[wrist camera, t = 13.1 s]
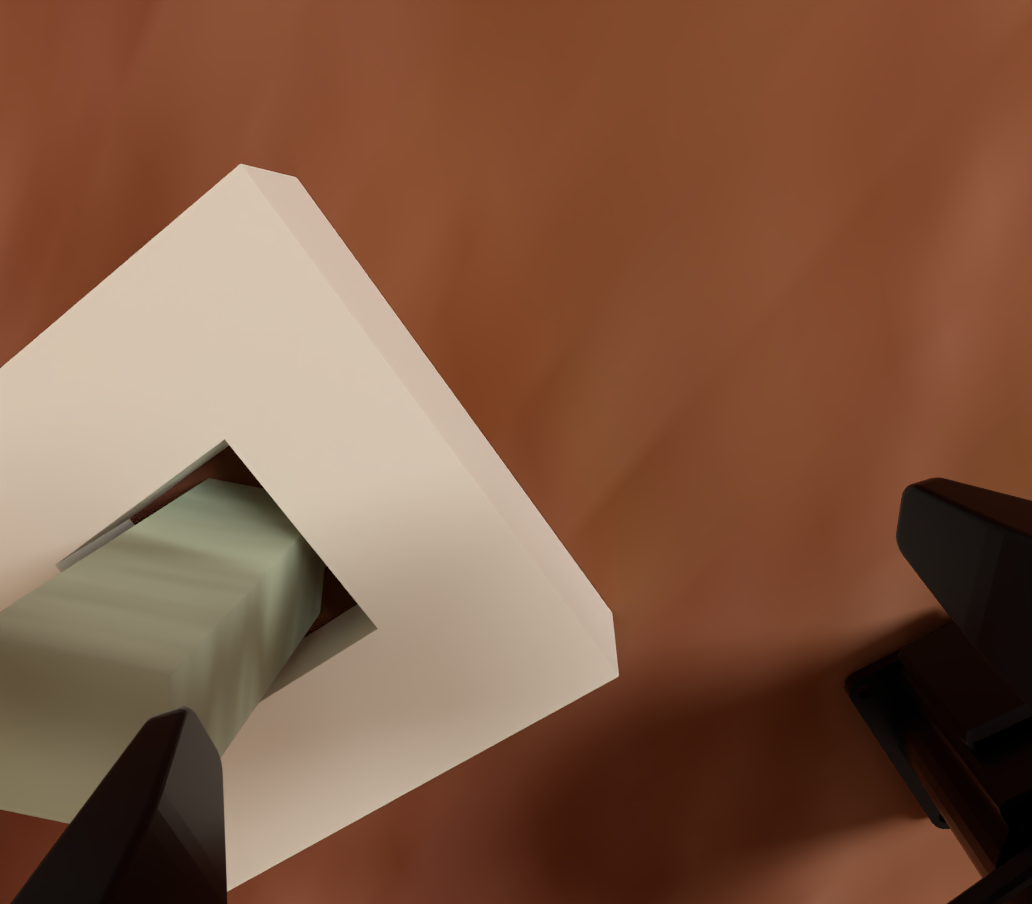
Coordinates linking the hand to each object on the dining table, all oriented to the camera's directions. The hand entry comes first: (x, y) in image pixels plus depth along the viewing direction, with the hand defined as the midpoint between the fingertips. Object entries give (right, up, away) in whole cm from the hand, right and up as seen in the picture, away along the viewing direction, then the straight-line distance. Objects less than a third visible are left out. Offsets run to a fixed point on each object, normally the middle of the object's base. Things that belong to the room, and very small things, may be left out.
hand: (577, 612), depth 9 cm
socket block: (-9, -1, +15) cm, 17 cm away
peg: (-9, -1, +15) cm, 17 cm away
